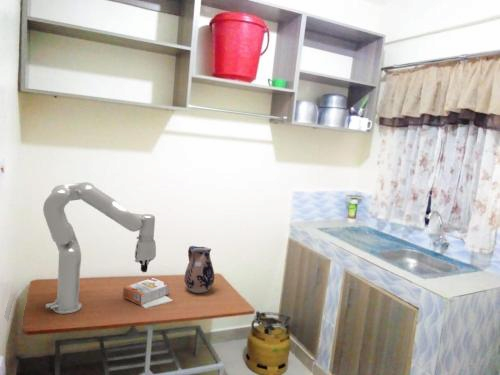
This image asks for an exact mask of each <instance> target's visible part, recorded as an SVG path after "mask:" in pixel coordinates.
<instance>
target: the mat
mask: <svg viewBox="0 0 500 375" xmlns="http://www.w3.org/2000/svg"><path fill="white" fill-rule="evenodd" d="M172 302H173V299H171V298H170V297H168V296H167V295H165V296H162V297H160V298H157V299H155V300H152V301H149V302H147V303H144V304H142V305H140V306H141V307H142V308H143V309H146V310H147V309H149V308H154V307H156V306H159V305H160V306H161V305H164V304H168V303H172Z"/></svg>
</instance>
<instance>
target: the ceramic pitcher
mask: <svg viewBox="0 0 500 375" xmlns="http://www.w3.org/2000/svg"><path fill="white" fill-rule="evenodd" d="M211 251H212V248H210V247H206V246H195V245H190V246H189V247H188V250H187V253H188V254H187V255H188V264H187V267H186V269H185V273H184V278H183V279H184V283H185V285H186V288H187V289H188V290H189V291H191V293H196V294H203V293H207V292H208V291H209V290H210V289H211V288H212V286H213V285H214V282H215V271H214V268H213V267H214V266H213V262H212V260H211Z"/></svg>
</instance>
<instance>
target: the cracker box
mask: <svg viewBox="0 0 500 375" xmlns="http://www.w3.org/2000/svg"><path fill="white" fill-rule="evenodd" d="M170 286H171V285H170V284H169V283H168V282H167V283H166V282H165V281H162V280H159V279H156V278H154V277H151V278H147V279H146V280H141V281H139V282H135V283H133V284H130V285H126V286H124V287H123V292H122V298H124V299H126V300H129V301H131V302H133V303H134V304H137V305H139V306H141V305H142V304H144V303H147V302H149V301H152V300H155V299H157V298H160V297H162V296H167V295H169V293H170Z"/></svg>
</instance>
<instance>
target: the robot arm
mask: <svg viewBox="0 0 500 375" xmlns="http://www.w3.org/2000/svg"><path fill="white" fill-rule="evenodd" d="M79 200H80V201H83V202H84V203H85V204H87V205H89V206H91V207H93V208H94V209H96V210H98V211H99V212H100V213H102V214H103V215H104V216H106V217H107V218H109V219H110V220H113V221H114V222H116V223H117V224H119V225H120V226H121V227H123V228H124V229H126V230H128V231H130V232H132V233H133V232H138V231H139V232H138V236H137V237H136V240H137V241H136V244H135V251H134V258H135V259H134V262H135V263H139V264H140V271H141V272H142V273H147V272H148V266H149V264H150V262H151V261H154V259H156V256H157V255H156V254H157V251H156V250H157V245H156V240H155V239H154V238H155V237H154V236H155V222H156V217H155V215H154V214H149V213H143V214H142V213H134V212H133V213H132V212H131V211H129V210H127V209H126V208H124V207H123V206H122V205H121V204H120V203H119V202H118V201H117V200H115V199H114V198H112V197H111V196H110V195H108V194H106V193H105V192H103V191H102V190H100V189H99V188H97V187H96V186H95V185H94V184H93V183H91V182H85V181H84V182H76V183H68V184H67V183H66V184H59V185H56V186H54V188H53V189H51V193H50V194H49V195H48V196H47V198H46V199H45V201H44V203H43V205H42V206H43V207H42V211H43V216H44V219H45V222H46V225H47V227H48V230H49V233H50V236H51V239H52V241H53V242H54V243H55V244H56V247H57V250H58V266H57V267H58V268H57V269H58V270H57V271H58V272H57V273H58V274H57V295H56V299H54V301H53V302H51V303H50V302H49V303H46V304H45V309H50V310H53V312H54V313H57V314H60V315H61V314H62V315H64V314H73V313H76V312H78V311H79V310H81V309H82V305H83V304H82V302H80V301H79V298H80V296H79V295H80V279H81V278H80V277H81V263H82V252H81V247H80V244H79V241H78V239H77V236H76V233H75V230H74V227H73V225H72V224H71V223H70V222H69V220H68V218H67V214H66V213H65V207H66V206H67V205H68V204H69V203H70V201H71V202H72V201H79Z"/></svg>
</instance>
